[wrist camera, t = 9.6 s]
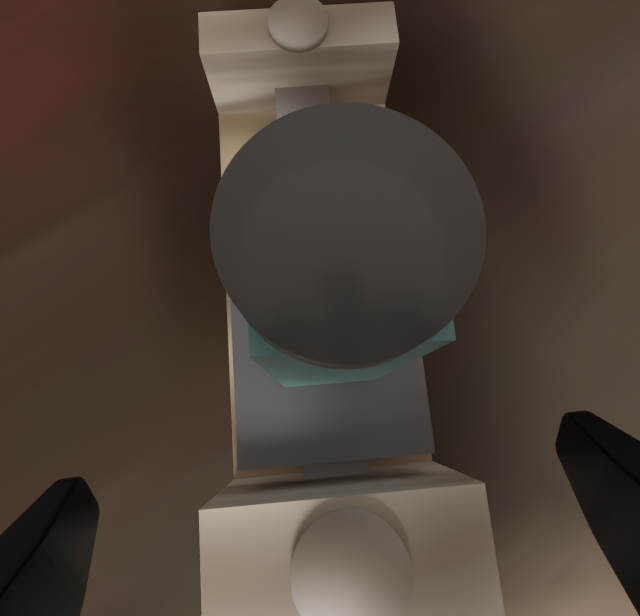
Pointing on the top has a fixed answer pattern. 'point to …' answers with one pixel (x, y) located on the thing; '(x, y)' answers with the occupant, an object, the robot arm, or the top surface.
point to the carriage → (342, 280)
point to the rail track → (346, 476)
